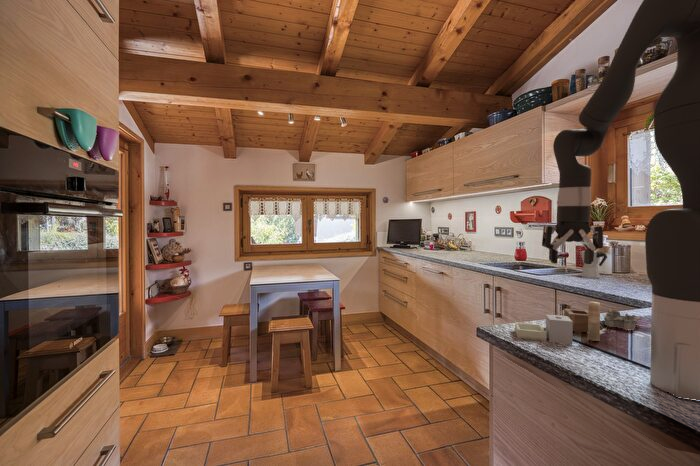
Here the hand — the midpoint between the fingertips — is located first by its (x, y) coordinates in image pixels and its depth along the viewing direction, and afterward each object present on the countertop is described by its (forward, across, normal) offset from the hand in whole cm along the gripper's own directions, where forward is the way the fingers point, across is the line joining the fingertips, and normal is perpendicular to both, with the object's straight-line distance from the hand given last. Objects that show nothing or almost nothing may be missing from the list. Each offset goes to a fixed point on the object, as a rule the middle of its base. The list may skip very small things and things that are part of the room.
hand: (570, 263), depth 88 cm
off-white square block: (+19, -5, -6) cm, 21 cm away
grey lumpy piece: (+20, +20, +9) cm, 30 cm away
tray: (+20, -12, -4) cm, 23 cm away
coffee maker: (+25, +62, +100) cm, 120 cm away
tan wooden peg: (+19, +4, -6) cm, 20 cm away
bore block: (+20, +5, +3) cm, 21 cm away
